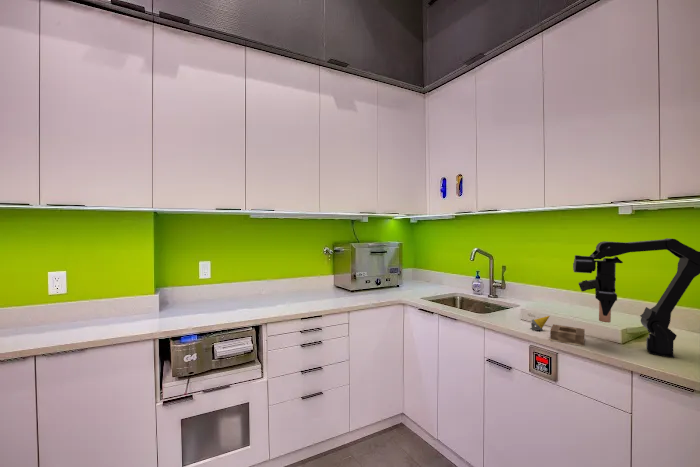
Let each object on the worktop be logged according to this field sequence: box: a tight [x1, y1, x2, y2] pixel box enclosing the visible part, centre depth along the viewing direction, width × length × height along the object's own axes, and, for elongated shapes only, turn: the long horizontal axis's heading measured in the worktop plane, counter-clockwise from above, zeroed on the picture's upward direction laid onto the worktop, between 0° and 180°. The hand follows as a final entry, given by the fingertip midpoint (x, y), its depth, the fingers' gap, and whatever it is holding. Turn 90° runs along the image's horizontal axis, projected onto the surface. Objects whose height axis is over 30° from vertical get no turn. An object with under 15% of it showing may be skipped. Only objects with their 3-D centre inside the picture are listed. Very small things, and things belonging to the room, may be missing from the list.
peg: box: [598, 300, 612, 323], centre depth 126 cm, size 4×4×9 cm
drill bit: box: [530, 315, 551, 332], centre depth 145 cm, size 5×5×10 cm
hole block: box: [549, 324, 586, 347], centre depth 133 cm, size 11×11×4 cm
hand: (605, 314), depth 126 cm, fingers closed on peg, 4 cm apart
